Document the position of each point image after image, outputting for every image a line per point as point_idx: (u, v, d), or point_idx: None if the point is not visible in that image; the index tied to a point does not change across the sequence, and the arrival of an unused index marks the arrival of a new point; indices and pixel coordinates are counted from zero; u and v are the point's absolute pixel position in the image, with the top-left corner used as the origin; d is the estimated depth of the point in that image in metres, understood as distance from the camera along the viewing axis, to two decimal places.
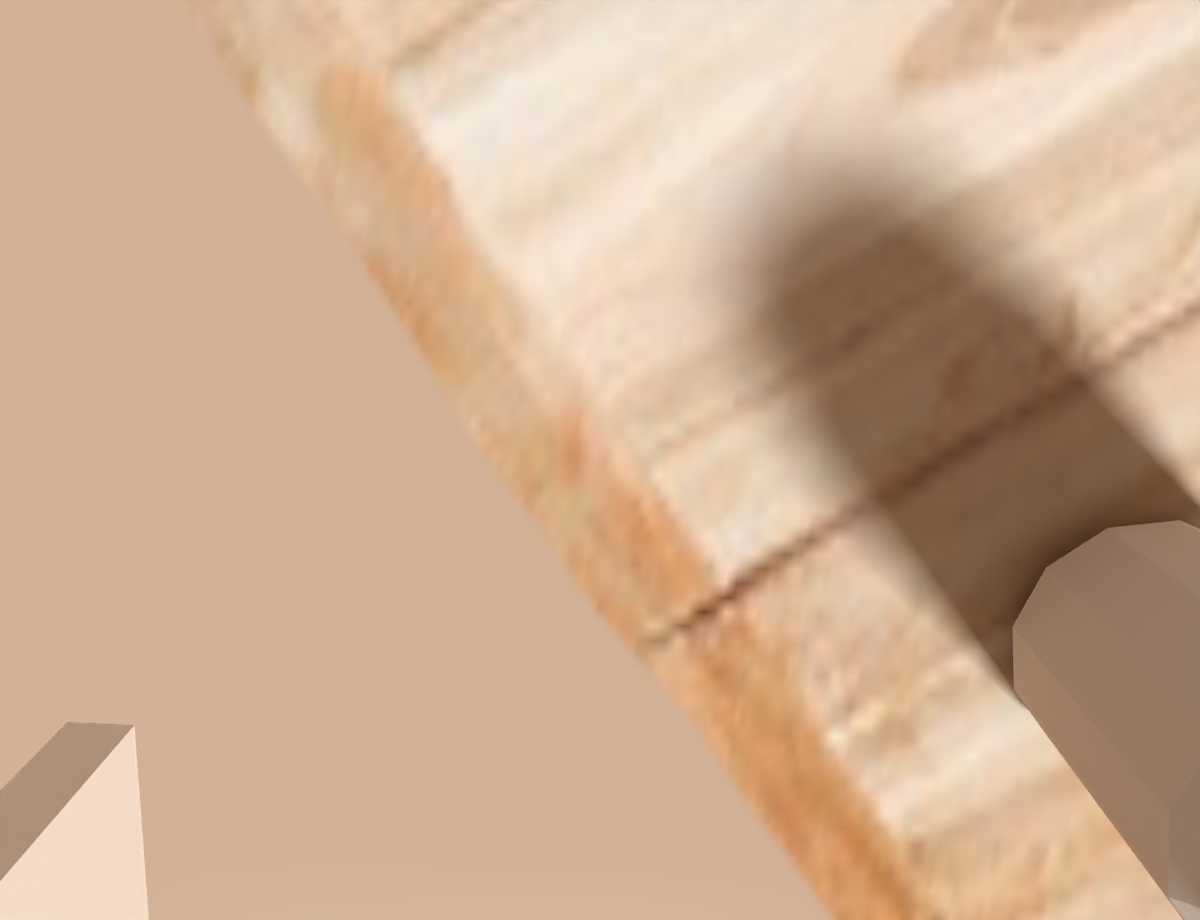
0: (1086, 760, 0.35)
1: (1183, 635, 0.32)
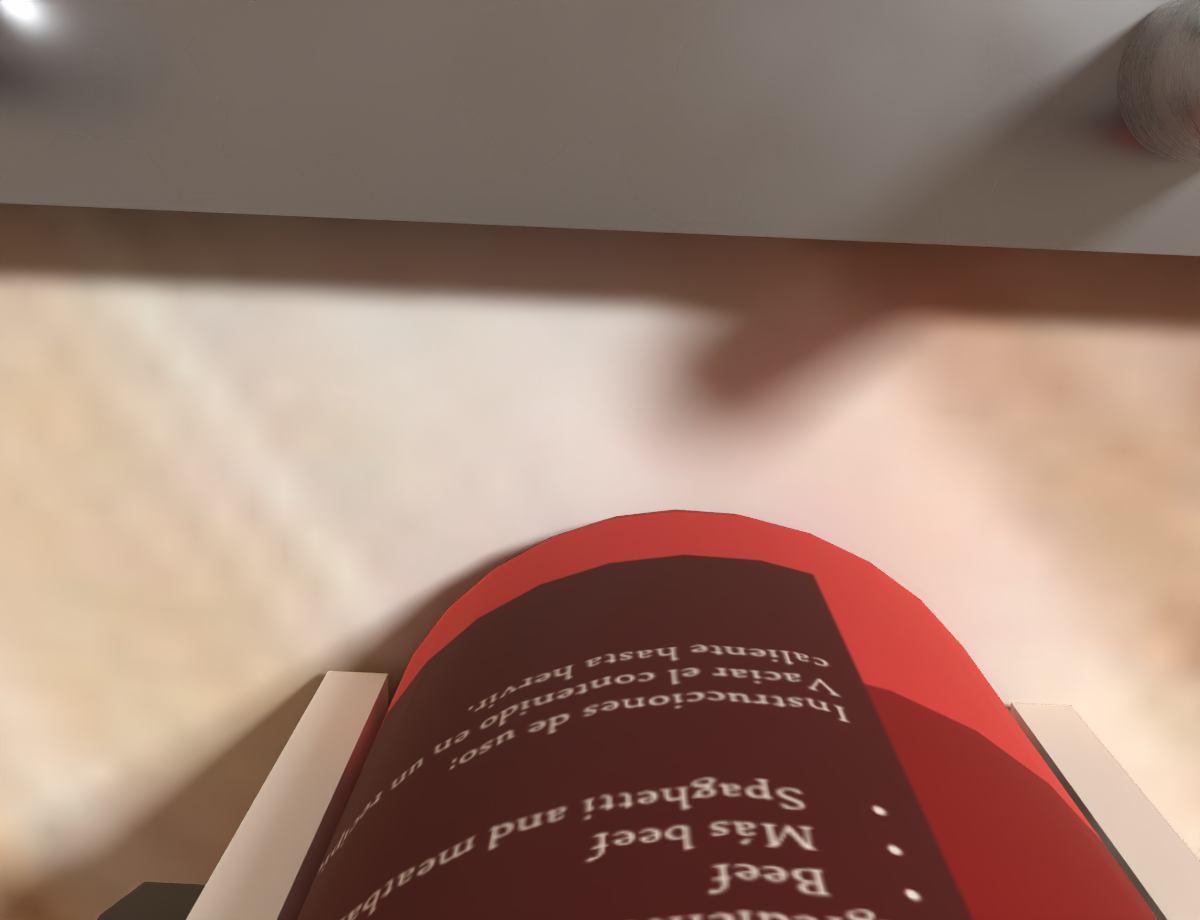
0: None
1: None
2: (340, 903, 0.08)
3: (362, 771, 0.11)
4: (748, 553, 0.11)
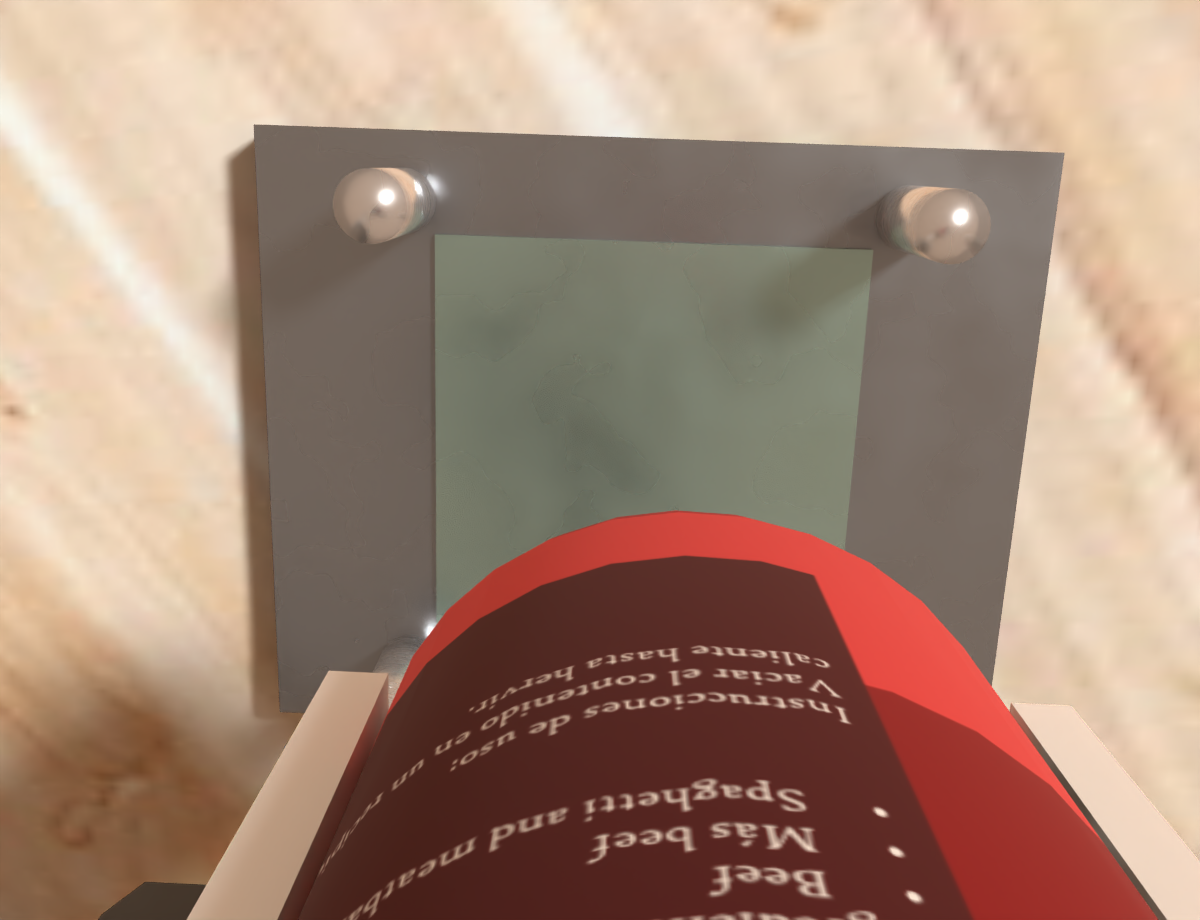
0: None
1: None
2: (340, 905, 0.08)
3: (363, 772, 0.11)
4: (749, 553, 0.11)
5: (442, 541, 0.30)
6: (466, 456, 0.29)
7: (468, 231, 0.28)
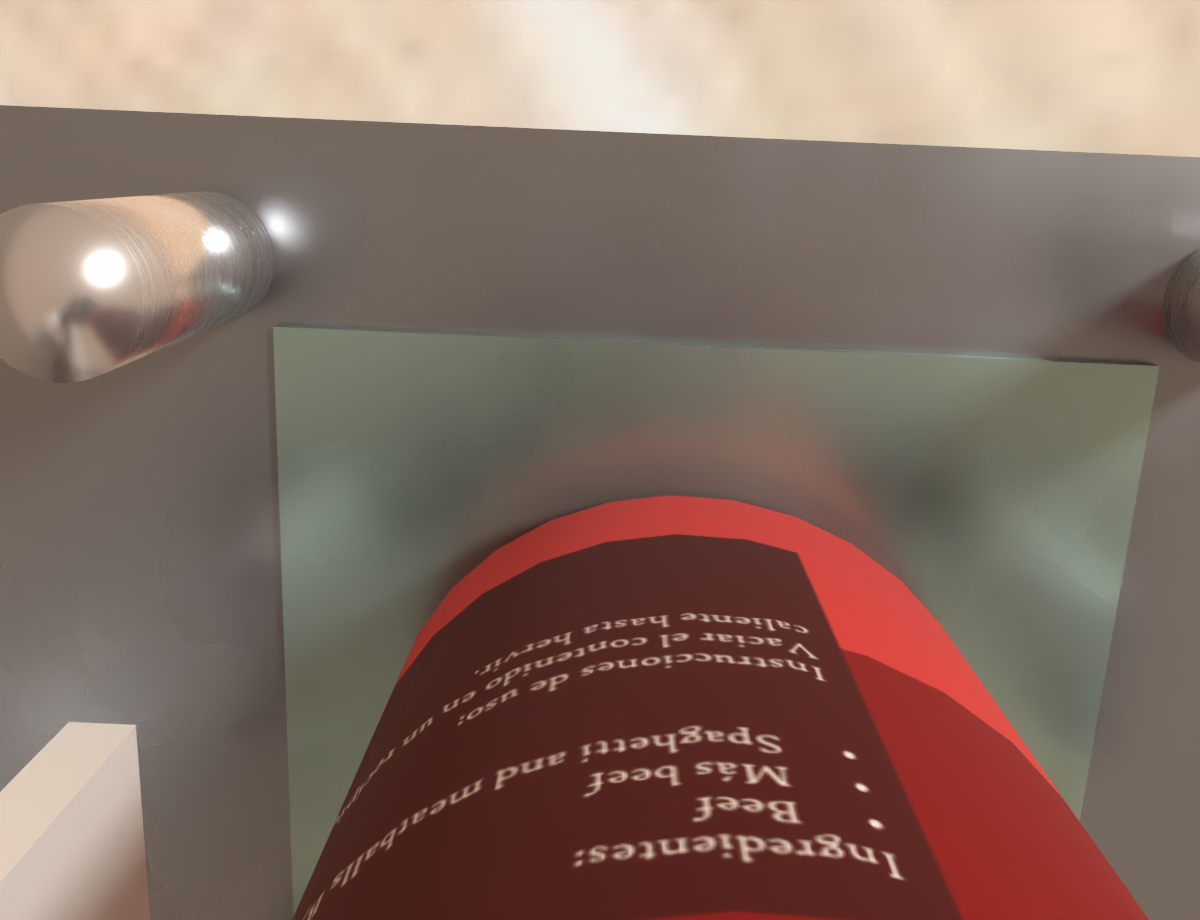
0: None
1: None
2: (358, 844, 0.08)
3: (374, 735, 0.11)
4: (736, 533, 0.12)
5: (304, 891, 0.16)
6: (346, 743, 0.15)
7: (342, 319, 0.14)
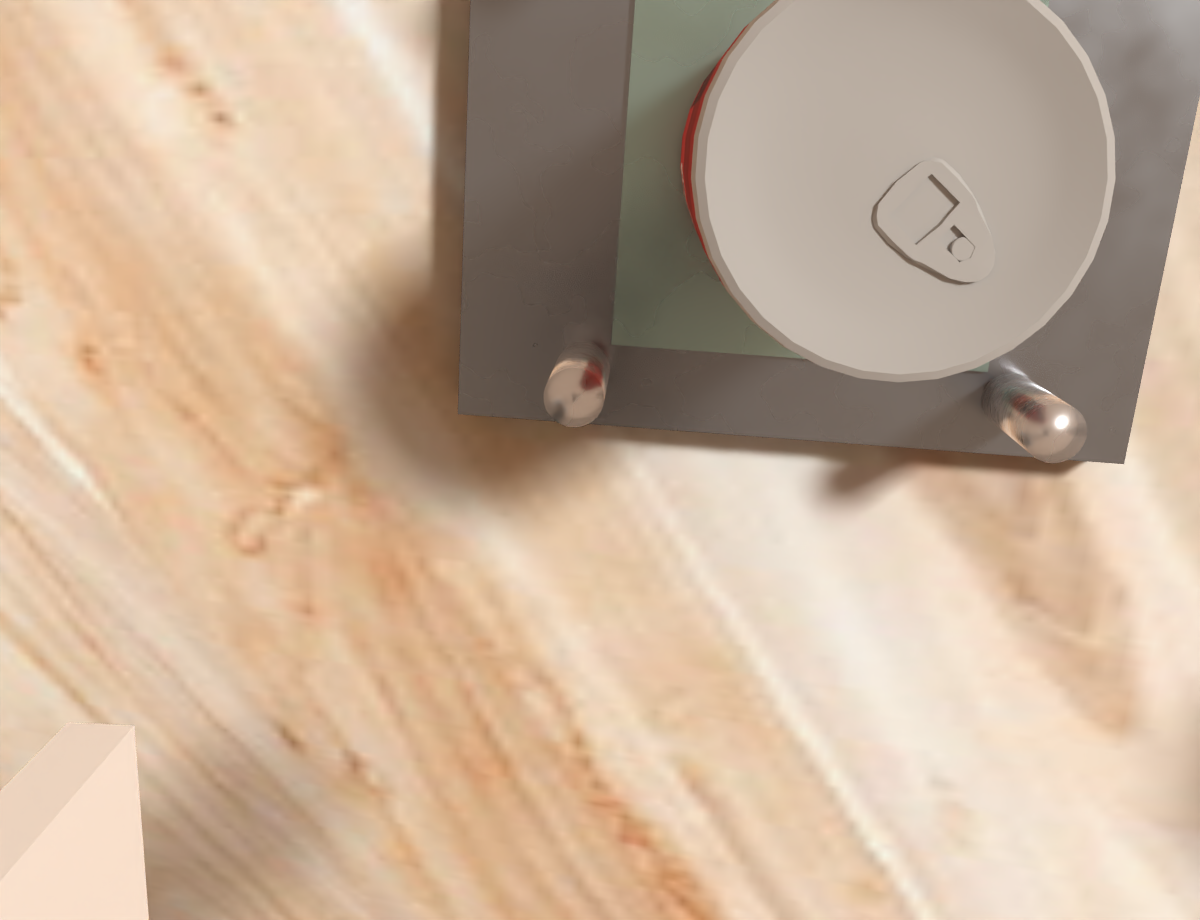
0: None
1: None
2: None
3: None
4: None
5: (624, 246, 0.32)
6: (652, 161, 0.31)
7: None
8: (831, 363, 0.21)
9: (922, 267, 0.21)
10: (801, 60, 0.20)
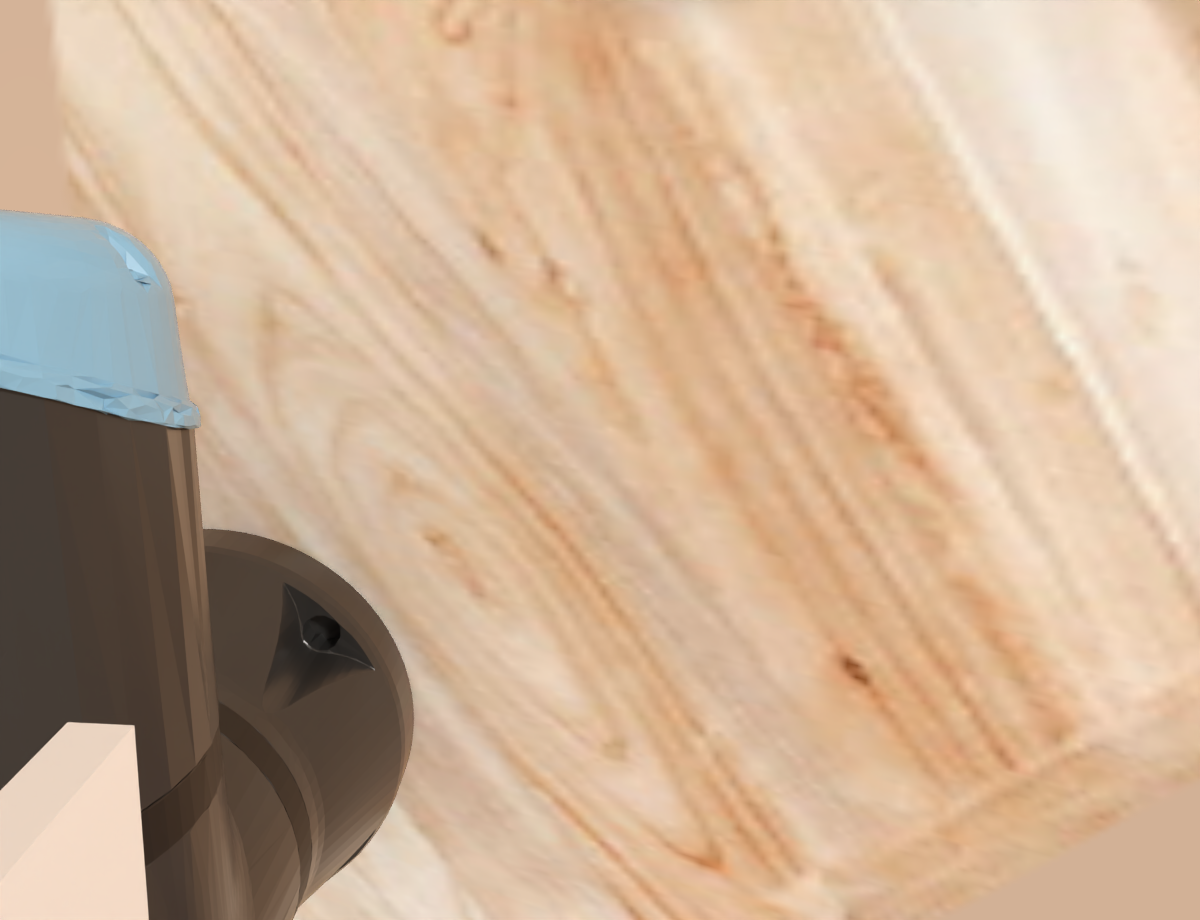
0: None
1: None
2: None
3: None
4: None
5: None
6: None
7: None
8: None
9: None
10: None
